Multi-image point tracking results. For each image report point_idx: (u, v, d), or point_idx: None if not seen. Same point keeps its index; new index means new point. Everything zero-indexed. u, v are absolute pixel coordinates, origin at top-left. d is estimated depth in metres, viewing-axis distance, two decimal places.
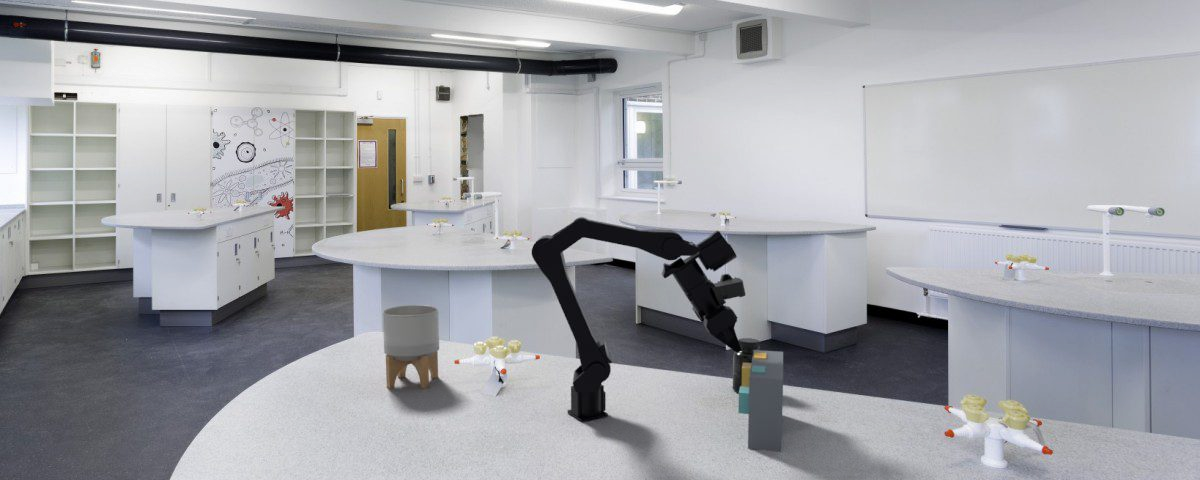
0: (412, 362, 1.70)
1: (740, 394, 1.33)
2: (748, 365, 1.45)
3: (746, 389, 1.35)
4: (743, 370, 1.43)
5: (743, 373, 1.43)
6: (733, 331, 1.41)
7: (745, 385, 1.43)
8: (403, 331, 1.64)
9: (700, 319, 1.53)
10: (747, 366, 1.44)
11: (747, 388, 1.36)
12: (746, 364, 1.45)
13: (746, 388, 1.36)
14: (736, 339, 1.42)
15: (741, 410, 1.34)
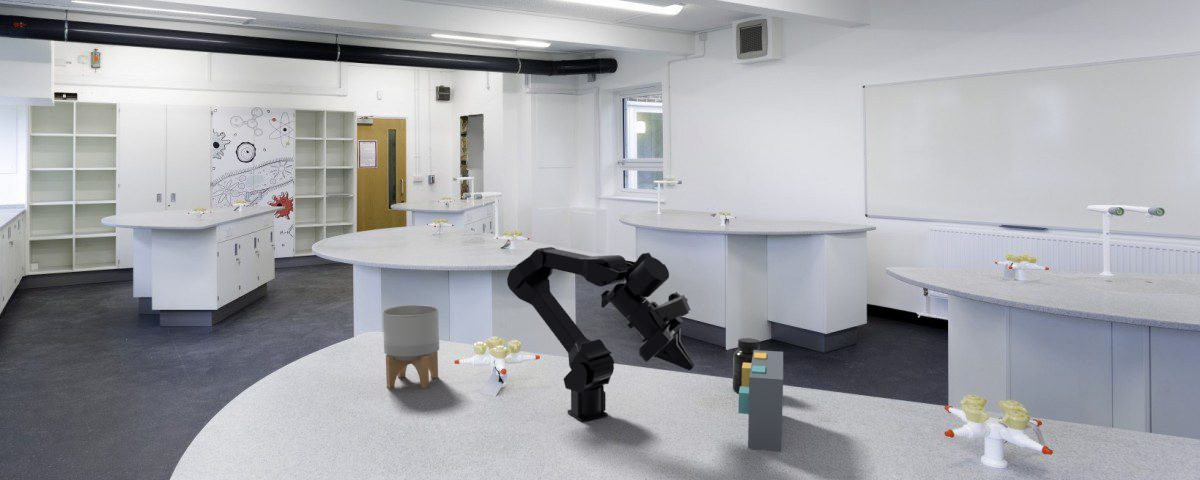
0: (412, 362, 1.70)
1: (740, 394, 1.33)
2: (748, 365, 1.45)
3: (746, 389, 1.35)
4: (743, 370, 1.43)
5: (743, 373, 1.43)
6: (677, 349, 1.35)
7: (745, 385, 1.43)
8: (403, 331, 1.64)
9: None
10: (747, 366, 1.44)
11: (747, 388, 1.36)
12: (746, 364, 1.45)
13: (746, 388, 1.36)
14: (683, 357, 1.36)
15: (741, 410, 1.34)
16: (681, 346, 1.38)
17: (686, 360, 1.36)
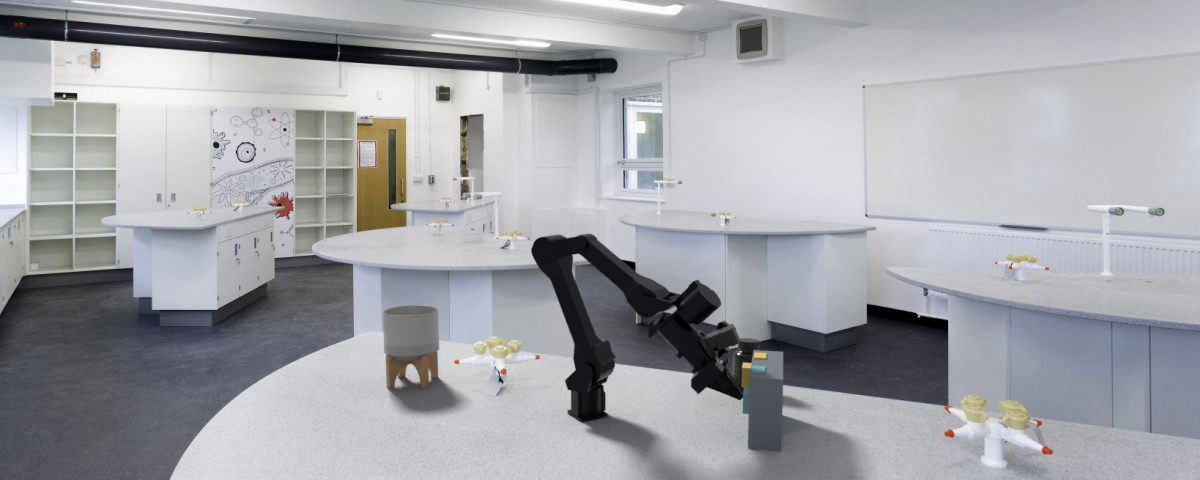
0: (412, 362, 1.70)
1: (744, 394, 1.33)
2: (748, 365, 1.45)
3: None
4: (743, 370, 1.43)
5: (743, 373, 1.43)
6: (728, 379, 1.34)
7: (745, 385, 1.43)
8: (403, 331, 1.64)
9: None
10: (747, 366, 1.44)
11: None
12: (746, 364, 1.45)
13: None
14: (734, 386, 1.34)
15: (745, 410, 1.33)
16: (730, 376, 1.36)
17: (736, 390, 1.34)
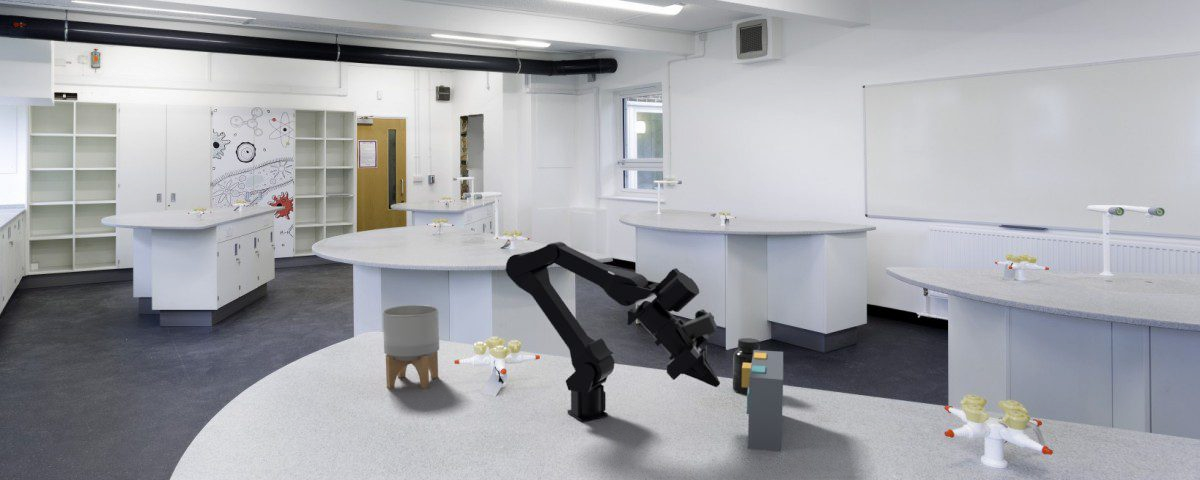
0: (412, 362, 1.70)
1: (748, 395, 1.33)
2: (748, 365, 1.45)
3: None
4: (743, 370, 1.43)
5: (743, 373, 1.43)
6: (704, 366, 1.37)
7: (745, 385, 1.43)
8: (403, 331, 1.64)
9: None
10: (747, 366, 1.44)
11: None
12: (746, 364, 1.45)
13: None
14: (710, 374, 1.37)
15: None
16: (707, 364, 1.39)
17: (713, 377, 1.37)
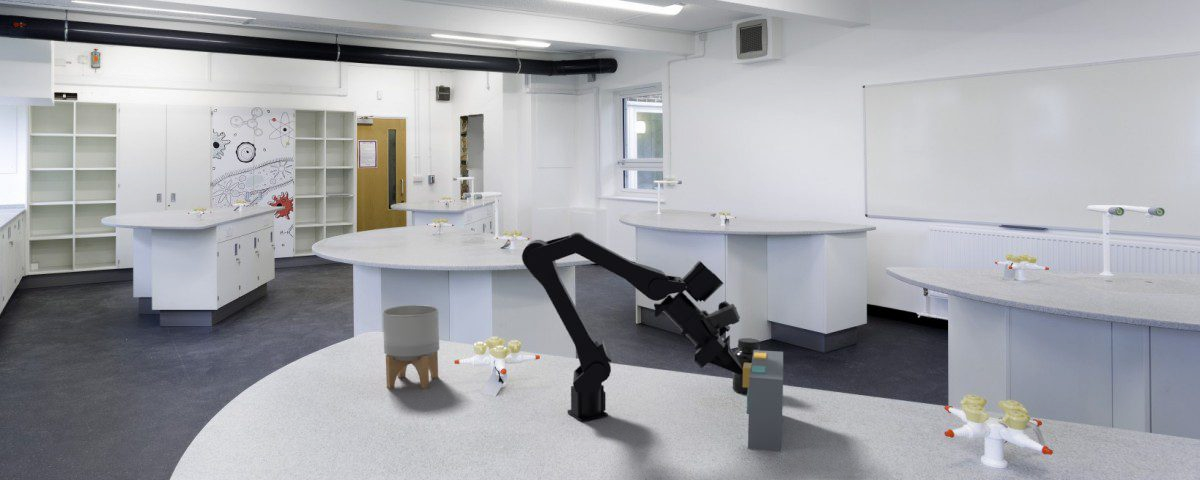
0: (412, 362, 1.70)
1: (748, 395, 1.33)
2: (749, 365, 1.44)
3: None
4: (744, 370, 1.43)
5: (744, 373, 1.43)
6: (729, 355, 1.43)
7: (746, 385, 1.43)
8: (403, 331, 1.64)
9: None
10: (748, 366, 1.44)
11: None
12: (747, 364, 1.45)
13: None
14: (734, 362, 1.44)
15: None
16: (731, 353, 1.46)
17: (737, 365, 1.44)
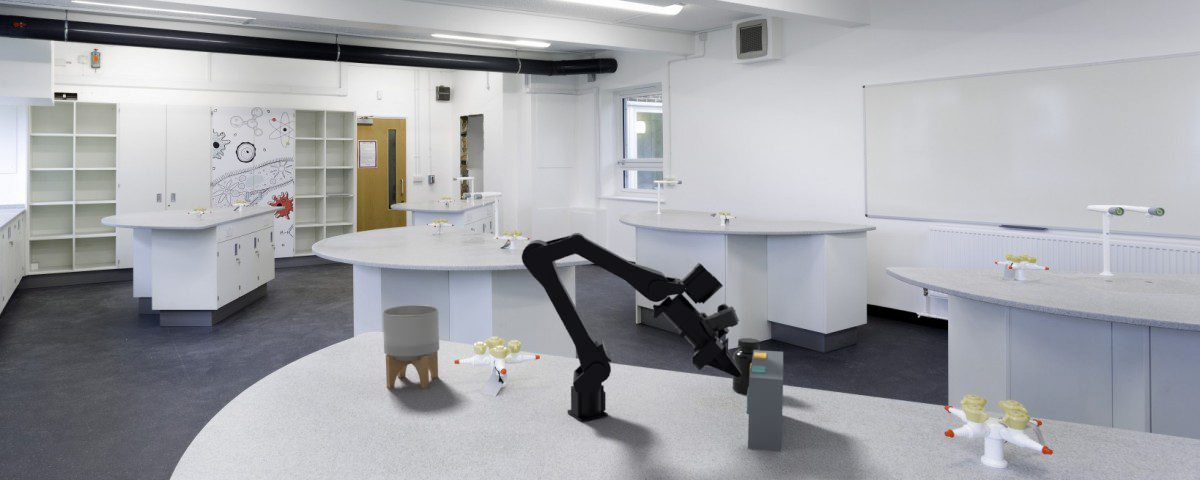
0: (412, 362, 1.70)
1: (748, 395, 1.33)
2: None
3: None
4: None
5: None
6: (727, 357, 1.43)
7: None
8: (403, 331, 1.64)
9: None
10: None
11: None
12: None
13: None
14: (732, 364, 1.44)
15: None
16: (729, 355, 1.46)
17: (735, 368, 1.44)
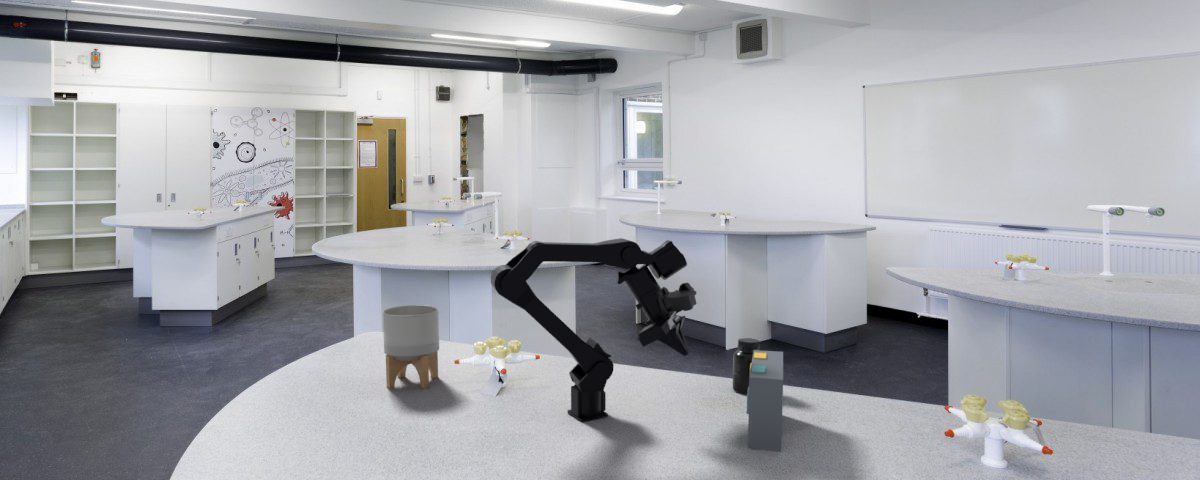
0: (412, 362, 1.70)
1: (748, 395, 1.33)
2: None
3: None
4: None
5: None
6: (676, 337, 1.47)
7: None
8: (403, 331, 1.64)
9: None
10: None
11: None
12: None
13: None
14: (681, 344, 1.48)
15: None
16: (681, 334, 1.49)
17: (682, 347, 1.48)
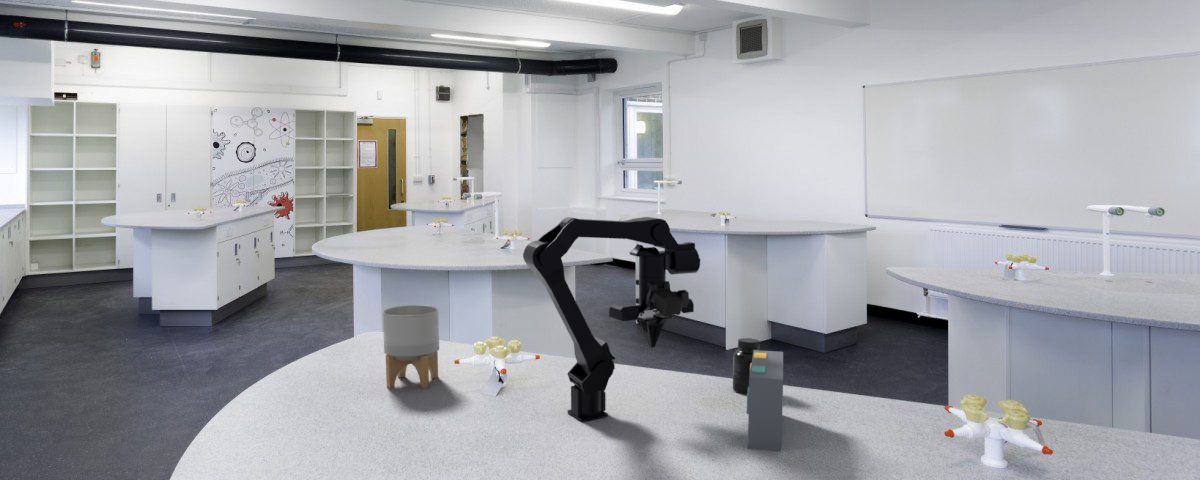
0: (412, 362, 1.70)
1: (748, 395, 1.33)
2: None
3: None
4: None
5: None
6: (648, 328, 1.51)
7: None
8: (403, 331, 1.64)
9: None
10: None
11: None
12: None
13: None
14: (649, 336, 1.52)
15: None
16: (657, 328, 1.52)
17: (650, 339, 1.52)
